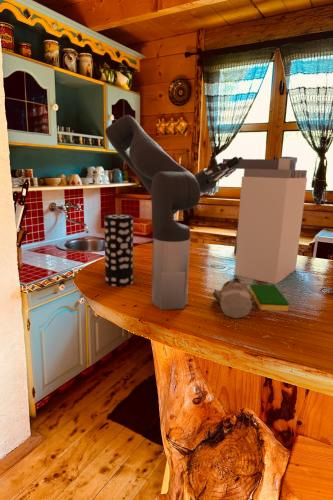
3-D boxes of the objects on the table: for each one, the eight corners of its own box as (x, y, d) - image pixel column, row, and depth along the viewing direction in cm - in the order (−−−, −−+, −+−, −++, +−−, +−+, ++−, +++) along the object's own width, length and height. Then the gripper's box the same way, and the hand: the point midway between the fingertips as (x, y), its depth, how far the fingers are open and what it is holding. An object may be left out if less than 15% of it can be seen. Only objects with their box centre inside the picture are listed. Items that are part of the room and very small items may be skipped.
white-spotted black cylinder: (136, 279, 106) (137, 215, 101) (126, 288, 98) (126, 219, 93) (112, 276, 108) (111, 213, 103) (100, 284, 100) (99, 217, 95)
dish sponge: (260, 311, 85) (260, 302, 85) (249, 291, 99) (250, 283, 98) (288, 312, 85) (289, 303, 85) (273, 292, 99) (274, 284, 98)
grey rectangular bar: (292, 170, 102) (293, 159, 101) (288, 170, 99) (290, 158, 99) (226, 168, 115) (227, 158, 114) (222, 168, 112) (222, 158, 112)
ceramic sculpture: (215, 284, 77) (214, 269, 91) (212, 320, 78) (211, 299, 93) (263, 288, 76) (254, 272, 90) (259, 324, 77) (251, 303, 92)
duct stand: (295, 269, 120) (309, 157, 111) (275, 284, 104) (289, 155, 95) (258, 262, 128) (268, 157, 119) (234, 274, 113) (243, 155, 103)
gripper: (184, 174, 115) (225, 147, 104) (205, 174, 126) (245, 150, 115) (193, 194, 115) (235, 169, 104) (213, 192, 125) (253, 169, 115)
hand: (240, 159), depth 110 cm, fingers closed on grey rectangular bar, 3 cm apart
